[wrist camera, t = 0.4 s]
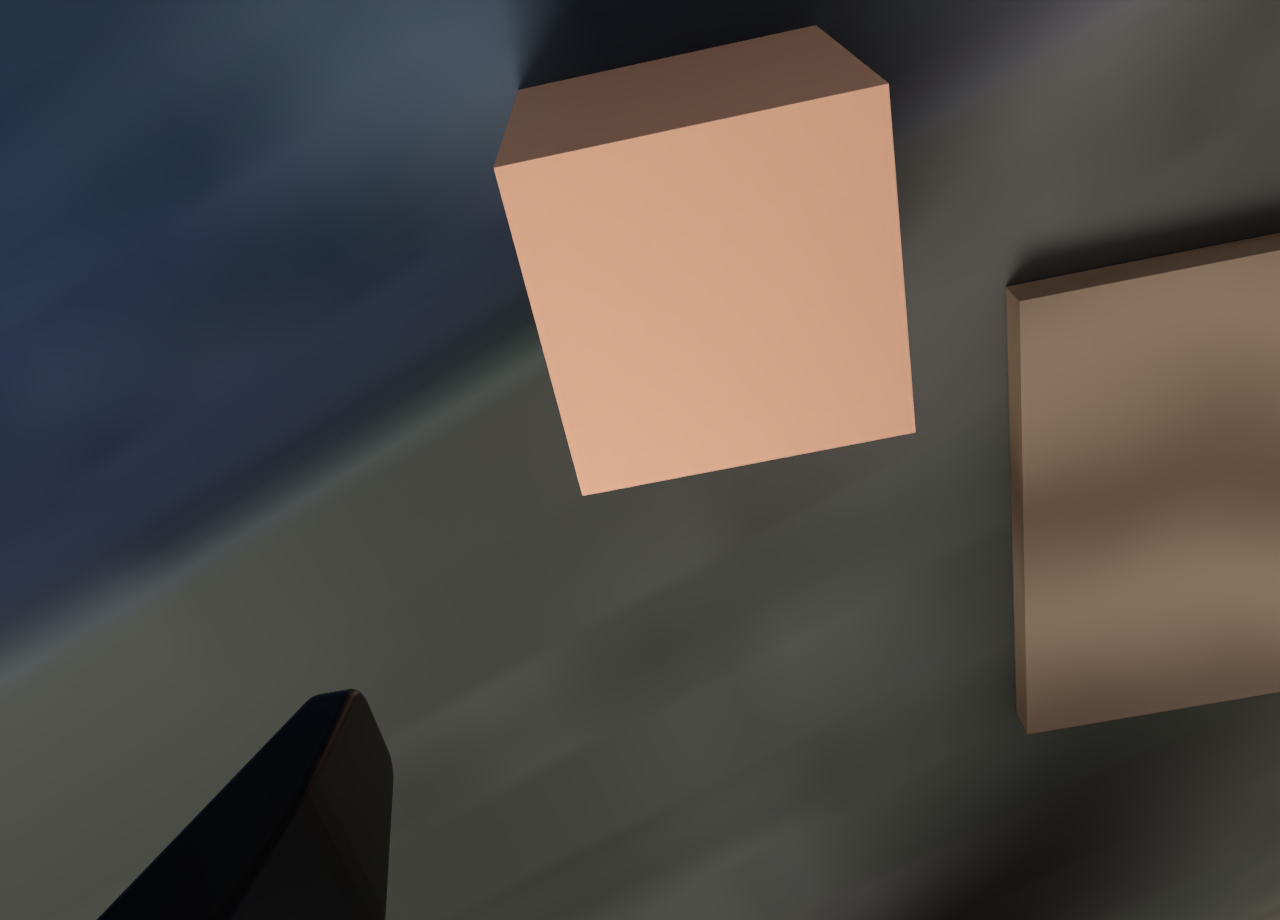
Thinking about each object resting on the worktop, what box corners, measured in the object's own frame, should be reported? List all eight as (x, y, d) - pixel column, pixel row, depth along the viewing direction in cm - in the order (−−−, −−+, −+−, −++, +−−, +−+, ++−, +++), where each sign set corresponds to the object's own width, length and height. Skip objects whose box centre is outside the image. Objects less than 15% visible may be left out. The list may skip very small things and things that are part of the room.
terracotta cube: (845, 304, 22) (916, 432, 17) (585, 356, 22) (582, 495, 17) (814, 24, 19) (889, 83, 14) (518, 89, 19) (493, 168, 15)
